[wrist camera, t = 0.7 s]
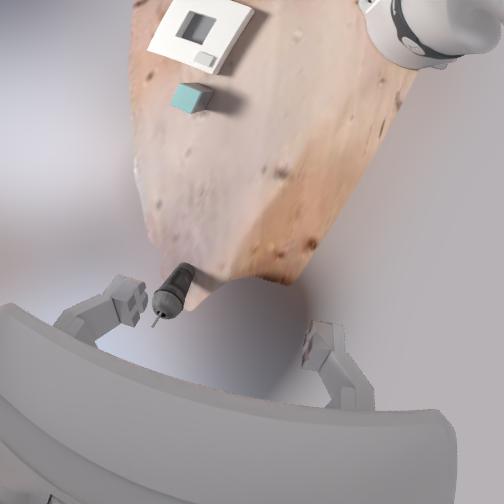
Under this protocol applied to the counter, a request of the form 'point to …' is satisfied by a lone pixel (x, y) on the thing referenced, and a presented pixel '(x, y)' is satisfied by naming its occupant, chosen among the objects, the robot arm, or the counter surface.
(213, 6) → the socket plate
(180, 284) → the beverage cup
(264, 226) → the counter surface
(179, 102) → the plug
